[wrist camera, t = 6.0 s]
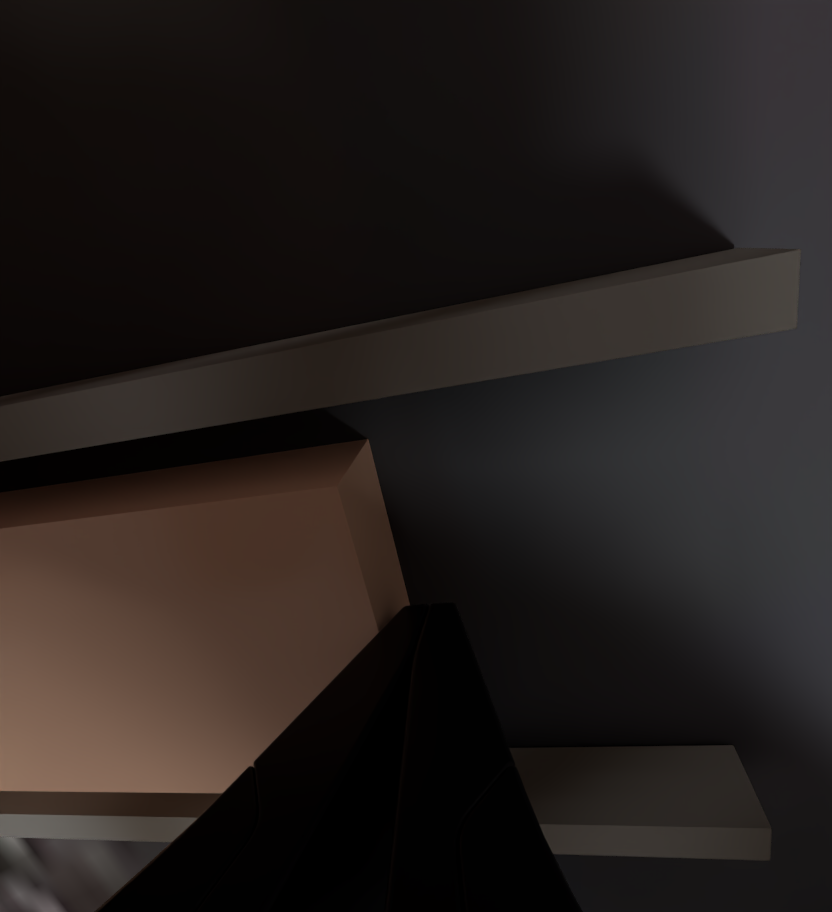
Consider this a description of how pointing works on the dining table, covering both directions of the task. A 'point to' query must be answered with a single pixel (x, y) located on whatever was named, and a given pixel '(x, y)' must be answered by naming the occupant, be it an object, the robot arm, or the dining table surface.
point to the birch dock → (419, 369)
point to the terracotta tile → (183, 615)
